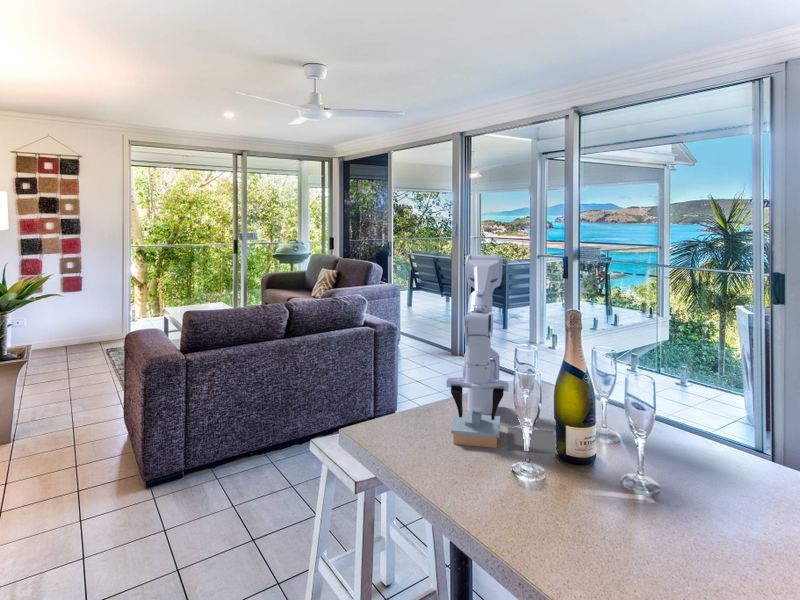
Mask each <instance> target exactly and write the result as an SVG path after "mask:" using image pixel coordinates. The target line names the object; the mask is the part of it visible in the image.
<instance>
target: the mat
mask: <svg viewBox="0 0 800 600" xmlns="http://www.w3.org/2000/svg"><path fill="white" fill-rule="evenodd" d="M532 429H533V431H532V434H531V440H530V447H529V452H528V453H539V454H548V455H549V454H550V455H559V452H557V451H558V449H557V450H556V446H557V445H556V446H555V442H556V438H555V432H554V430H548V429H535V428H532ZM507 451H514V452H525V451H524V439H523V432H522V429H521V427H512V426H511V427H509V426H508V427H507Z"/></svg>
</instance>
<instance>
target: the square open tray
mask: <svg viewBox="0 0 800 600" xmlns="http://www.w3.org/2000/svg"><path fill="white" fill-rule="evenodd" d="M452 442H453V445H461V446H470V447H471V446H472V447H480V448H481V447H482V448H490V449H491V448H493V449H497V448H498V438H497V437H485V436H473V435H462V434H453V441H452Z"/></svg>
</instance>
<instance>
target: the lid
mask: <svg viewBox="0 0 800 600" xmlns="http://www.w3.org/2000/svg"><path fill="white" fill-rule="evenodd" d="M481 414H482V408H477V407H473V412H472V413H463V415H462V418H461V417H459V413H458V412H456V413H455V416H454V419H453V424H452V427H451V430H450V431H451V432H450V433H451V435H452V434H453V435H454V434H462V435H473V436H485V437H497V439H499V438H500V431H501V416H500V415H495V418H494V420H491V414H488V415H481Z"/></svg>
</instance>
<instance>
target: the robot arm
mask: <svg viewBox="0 0 800 600" xmlns="http://www.w3.org/2000/svg"><path fill="white" fill-rule="evenodd" d="M503 257H504V256H502V254H498V255H497V254H471V253H470V254H468V255H466V259H465V276H466V282H467V284H468V286H470V287H472V288H473V289H474V290H473V291H472V292H471V293H470V294H469V297H468V305H467V307H468V308H467V313H466V314H465V315H464V319H463V320H464V321H463V332H464V333H463V334H464V344H465V353H464V355H463V362H462V377H461V376H458V377H451V376H449V377H447V378H446V388H450V394H451V396H452V398H453V400H454V403H455V404H456V409H457V413H459V417H461V418H462V415H463V412H464V411H463V392H464V391H463V388H465V389H467V412H469V414H472V412H473V407H477V408H482V414H481V415H490V416H491V420H494V418H495V416H496V413H497V410H498V407H499V405H500V402H501V401H502V399H503V397H504V392H509V386H510V385H509V384H510V383H509V380H501V379H500V370H501V369H500V367H501V366H500V362H501V361H500V355H499V353H498V351H496V350H495V349H493V348H492V347H491V342H492V341H491V340H492V336H493V331H494V316H493V294H494V291H495V289H496V288H498V287H500V286H501V283H502V279H503V278H502V277H503V263H504V262H503V260H504V259H503Z"/></svg>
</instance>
